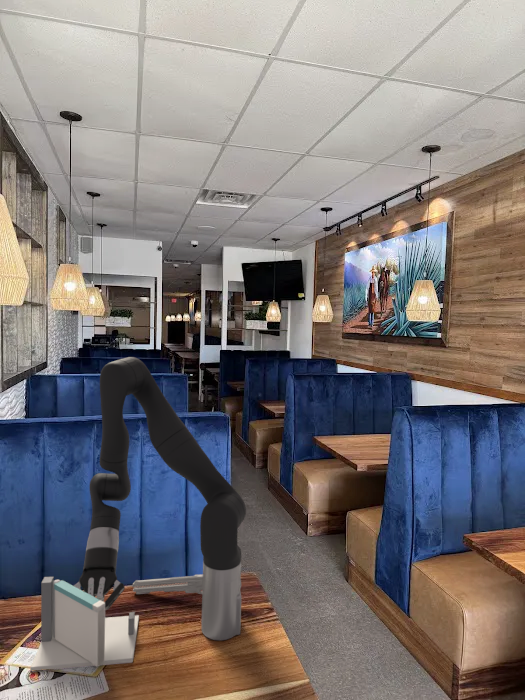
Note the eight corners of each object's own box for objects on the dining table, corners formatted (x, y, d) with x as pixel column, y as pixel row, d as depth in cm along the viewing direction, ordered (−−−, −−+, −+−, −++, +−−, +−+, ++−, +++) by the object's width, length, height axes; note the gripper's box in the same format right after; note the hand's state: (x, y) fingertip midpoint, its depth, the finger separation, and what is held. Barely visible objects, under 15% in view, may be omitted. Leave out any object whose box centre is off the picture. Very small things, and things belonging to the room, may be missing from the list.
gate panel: (104, 661, 101) (105, 602, 101) (96, 667, 100) (97, 607, 99) (58, 632, 110) (58, 578, 109) (50, 637, 108) (51, 582, 107)
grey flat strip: (242, 602, 124) (238, 573, 124) (135, 609, 128) (130, 582, 128) (243, 597, 126) (239, 570, 126) (137, 605, 130) (133, 578, 130)
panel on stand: (138, 619, 118) (139, 561, 117) (132, 662, 103) (133, 596, 102) (50, 625, 114) (50, 566, 113) (30, 671, 100) (30, 603, 99)
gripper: (71, 546, 112) (56, 630, 101) (128, 544, 114) (120, 626, 103) (76, 556, 117) (63, 636, 106) (130, 554, 119) (123, 632, 108)
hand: (91, 631), depth 105 cm, fingers closed
